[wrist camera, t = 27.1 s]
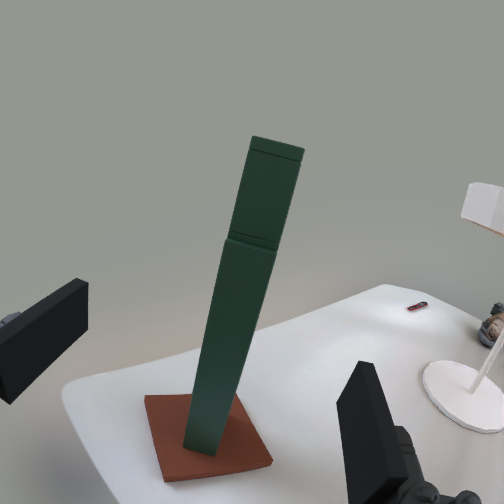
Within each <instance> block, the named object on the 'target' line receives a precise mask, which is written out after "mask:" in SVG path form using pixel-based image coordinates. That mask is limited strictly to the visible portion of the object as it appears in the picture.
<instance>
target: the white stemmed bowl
mask: <svg viewBox="0 0 504 504" xmlns="http://www.w3.org/2000/svg"><path fill="white" fill-rule="evenodd" d="M460 217H462V218H464V219H466V220H468V221H470V222H472V223H475V224H477V225H479V226H481V227H483V228H486V229H488V230H490V231H492V232H494V233H496V234H499V235H500V236H503V237H504V187H501V186H496V185H490V184H485V183H479V182H476V183H472V184H469V188H468V192H467V195H466V199H465V202H464V206H463V209H462V213H461V216H460ZM503 344H504V327H503V329H502V331H501V333H500V335H499V337H498V339H497V341H496V343H495V345H494V347H493V349H492V350H491V352H490V354H489V356H488V358H487V359H486V361H485V363H484V364H483V366H482V368H481V370H480V371H479V372H478V371H476V370H474V369H473V368H470V367H468V366H465V365H463V364H460V363H458V362H452V361H446V360H441V361H435V362H431V363H430V364H429V365H428V366H427V367H426V369H425V370H424V372H423V386H424V388H425V390H426V392H427V394H428V396H429V398H430V399H431V401H432V402H433V403H434V404H435V405H436V406H437V407H438V408H439V409H440V410H441V411H442V412H443V413H444V414H445V415H446V416H447V417H449V418H450V419H452V420H454V421H455V422H457V423H458V424H460V425H461V426H463V427H465V428H468V429H471V430H474V431H477V432H480V433H495V432H499V431H500V430H502V429H503V428H504V394H503V393H502V391H501V390H500V389H499V387H497V386H496V385H495V384H494V383H493V382H492V381H491V380H490V379H488V378H487V377H486V376H485V375H486V373H487V372H488V370H489V369H490V367H491V365H492V363H493V362H494V360H495V358H496V356H497V355H498V353H499V351H500V349H501V347H502V346H503Z"/></svg>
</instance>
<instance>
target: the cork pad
mask: <svg viewBox="0 0 504 504" xmlns="http://www.w3.org/2000/svg"><path fill="white" fill-rule="evenodd" d="M191 398H192V394H183V395H145V400H144V402H145V407H146V411H147V416H148V420H149V425H150V429H151V433H152V438H153V442H154V446H155V450H156V453H157V457H158V461H159V465H160V468H161V472H162V475H163V479H164V482H172V481H182V480H191V479H200V478H207V477H214V476H220V475H226V474H232V473H238V472H243V471H248V470H253V469H257V468H262V467H266V466H270V465H271V464H272V462H273V459H272V457H271V456H270V454H269V452H268V450H267V449H266V447H265V445H264V443H263V442H262V440H261V438H260V436H259V435H258V433H257V431H256V429H255V427H254V426H253V424H252V422H251V420H250V418H249V417H248V415H247V413H246V411H245V409H244V407H243V405H242V404H241V402H240V400H239V398H238V396H237V394H236V393H235V396H234V400H233V403H232V406H231V409H230V412H229V415H228V419H227V422H226V425H225V428H224V431H223V434H222V437H221V440H220V443H219V447H218V450H217V453H216V456H215V457H214V456H210V455H207V454H203V453H200V452H196V451H193V450H190V449H187V448H183V447H182V446H183V441H184V435H185V430H186V424H187V419H188V414H189V408H190V403H191Z"/></svg>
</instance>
